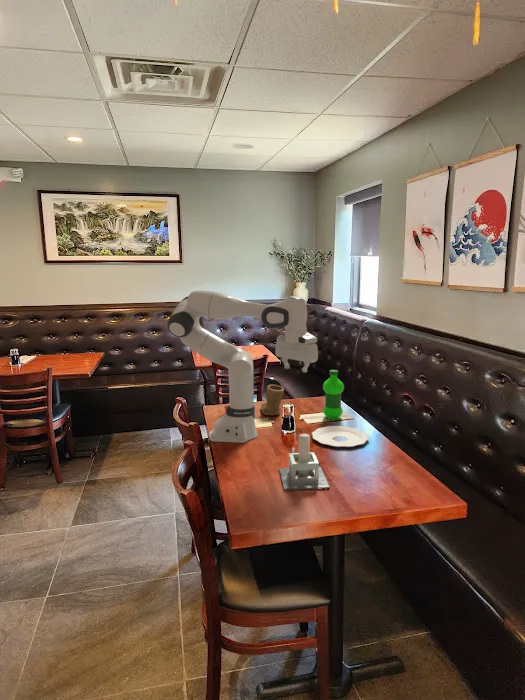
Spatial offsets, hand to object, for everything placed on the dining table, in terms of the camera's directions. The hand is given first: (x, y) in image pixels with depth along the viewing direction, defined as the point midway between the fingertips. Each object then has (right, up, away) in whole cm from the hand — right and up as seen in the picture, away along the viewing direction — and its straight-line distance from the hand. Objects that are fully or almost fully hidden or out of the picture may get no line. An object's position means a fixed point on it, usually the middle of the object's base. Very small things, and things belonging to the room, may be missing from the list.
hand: (295, 370), depth 181 cm
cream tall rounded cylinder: (+1, -38, -19) cm, 43 cm away
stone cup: (-8, -25, +57) cm, 63 cm away
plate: (+21, -32, +20) cm, 44 cm away
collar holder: (+1, -39, -19) cm, 43 cm away
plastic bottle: (+23, -27, +47) cm, 59 cm away
